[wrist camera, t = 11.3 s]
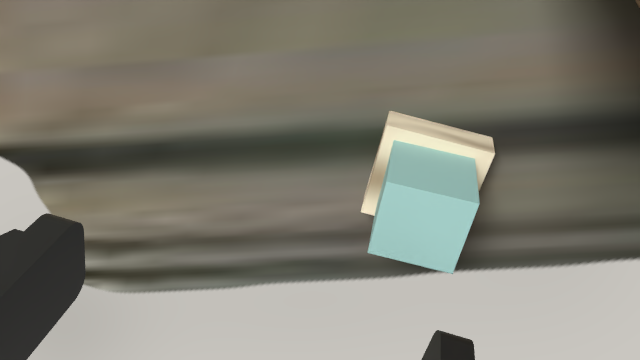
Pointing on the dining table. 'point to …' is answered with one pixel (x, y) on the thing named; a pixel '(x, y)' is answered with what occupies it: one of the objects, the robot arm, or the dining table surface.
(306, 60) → the dining table surface
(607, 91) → the dining table surface
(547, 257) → the dining table surface
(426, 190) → the teal cube
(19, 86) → the dining table surface
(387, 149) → the maple pedestal
